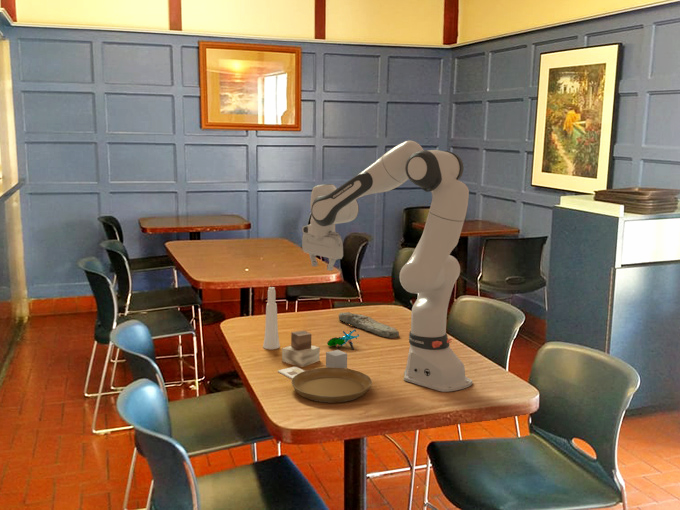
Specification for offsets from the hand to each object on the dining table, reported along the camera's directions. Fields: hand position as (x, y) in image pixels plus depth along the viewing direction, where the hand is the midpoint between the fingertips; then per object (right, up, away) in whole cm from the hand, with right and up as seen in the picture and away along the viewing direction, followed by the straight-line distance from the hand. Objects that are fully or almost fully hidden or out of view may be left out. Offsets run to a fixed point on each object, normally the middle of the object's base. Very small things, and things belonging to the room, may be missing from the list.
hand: (322, 268), depth 242 cm
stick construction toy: (+8, -29, +5) cm, 31 cm away
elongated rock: (+17, -25, +31) cm, 44 cm away
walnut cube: (-7, -27, -12) cm, 30 cm away
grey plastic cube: (+5, -33, -17) cm, 37 cm away
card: (-8, -34, -24) cm, 42 cm away
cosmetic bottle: (-18, -29, +4) cm, 34 cm away
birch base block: (-7, -32, -11) cm, 34 cm away
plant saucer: (+4, -36, -38) cm, 53 cm away
